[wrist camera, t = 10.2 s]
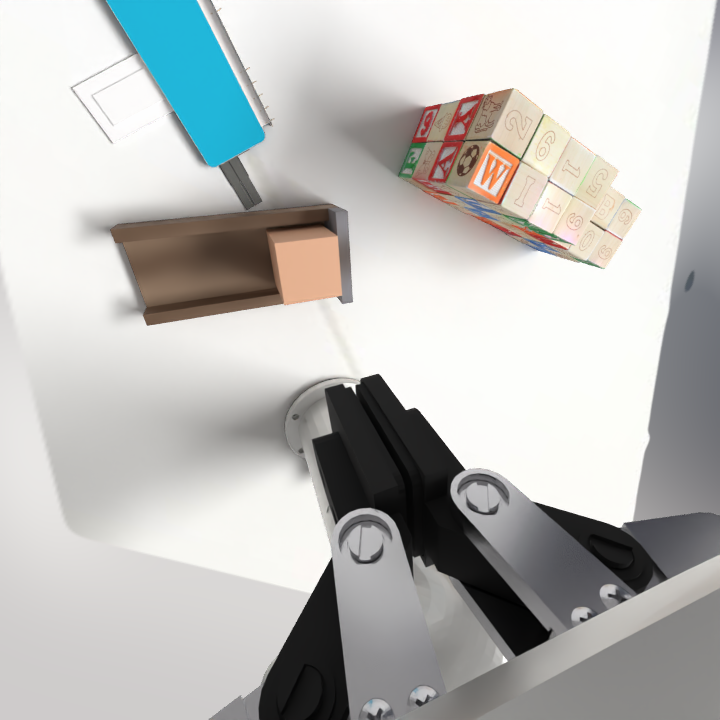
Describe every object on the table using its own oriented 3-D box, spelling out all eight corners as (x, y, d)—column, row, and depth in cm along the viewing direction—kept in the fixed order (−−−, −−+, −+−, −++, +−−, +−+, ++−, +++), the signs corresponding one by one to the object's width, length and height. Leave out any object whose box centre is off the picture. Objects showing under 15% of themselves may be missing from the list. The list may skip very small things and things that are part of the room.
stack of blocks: (567, 200, 42) (676, 215, 32) (538, 251, 44) (632, 280, 34) (423, 105, 33) (516, 84, 22) (395, 177, 35) (467, 187, 25)
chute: (338, 285, 38) (352, 302, 34) (151, 314, 33) (142, 337, 29) (331, 204, 34) (347, 211, 30) (117, 224, 29) (101, 235, 25)
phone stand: (-46, -76, 21) (-65, -92, 19) (138, -168, 21) (133, -190, 20) (188, 241, 32) (186, 245, 31) (304, 176, 33) (308, 177, 31)
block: (325, 276, 36) (342, 295, 31) (275, 283, 35) (284, 305, 30) (320, 223, 34) (337, 236, 29) (266, 229, 32) (274, 243, 27)
